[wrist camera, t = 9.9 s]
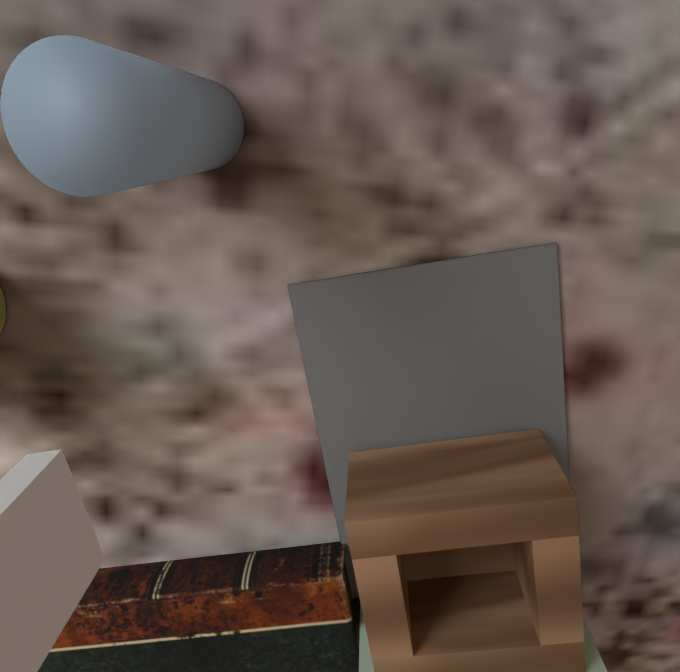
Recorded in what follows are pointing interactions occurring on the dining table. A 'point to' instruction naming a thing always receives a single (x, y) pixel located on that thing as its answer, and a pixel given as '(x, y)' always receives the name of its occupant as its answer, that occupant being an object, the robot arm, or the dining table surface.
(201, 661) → the book
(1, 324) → the plant pot
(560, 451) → the runner mat
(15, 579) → the robot arm
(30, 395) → the dining table surface
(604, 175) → the dining table surface
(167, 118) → the dowel
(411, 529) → the socket block
